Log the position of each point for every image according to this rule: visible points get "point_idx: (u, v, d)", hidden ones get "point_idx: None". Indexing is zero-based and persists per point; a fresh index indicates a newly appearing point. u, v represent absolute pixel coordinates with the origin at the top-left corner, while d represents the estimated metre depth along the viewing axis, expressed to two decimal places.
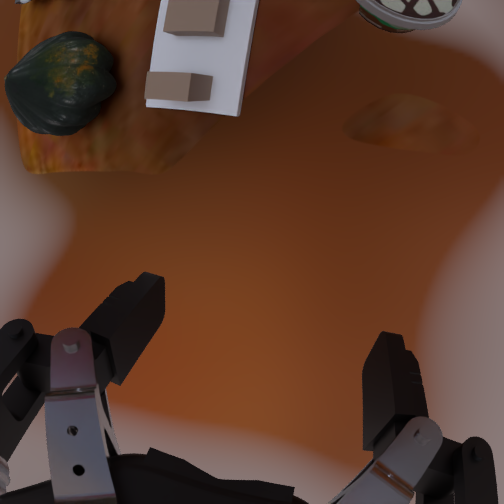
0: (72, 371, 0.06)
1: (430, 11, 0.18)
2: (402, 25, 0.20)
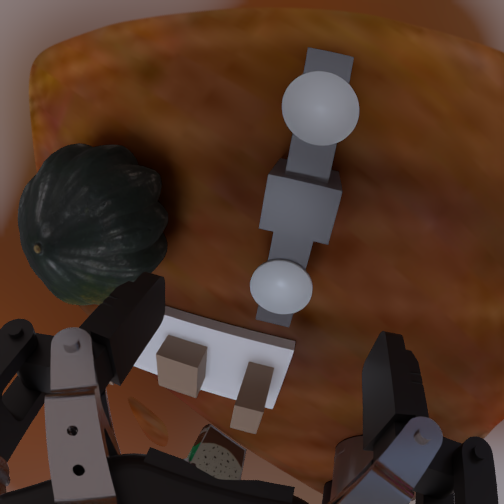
0: (72, 371, 0.06)
1: None
2: None
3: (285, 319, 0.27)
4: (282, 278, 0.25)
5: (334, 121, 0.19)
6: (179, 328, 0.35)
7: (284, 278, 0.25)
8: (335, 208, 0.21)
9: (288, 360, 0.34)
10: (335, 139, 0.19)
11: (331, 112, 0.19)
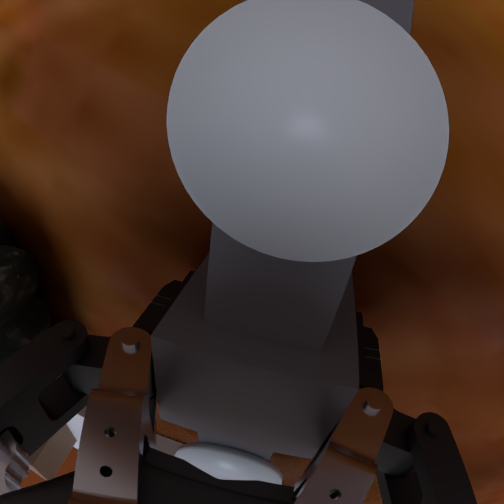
0: (137, 371, 0.07)
1: None
2: None
3: None
4: (226, 467, 0.11)
5: (357, 178, 0.05)
6: None
7: (229, 468, 0.11)
8: (334, 416, 0.07)
9: None
10: (356, 243, 0.06)
11: (347, 143, 0.05)
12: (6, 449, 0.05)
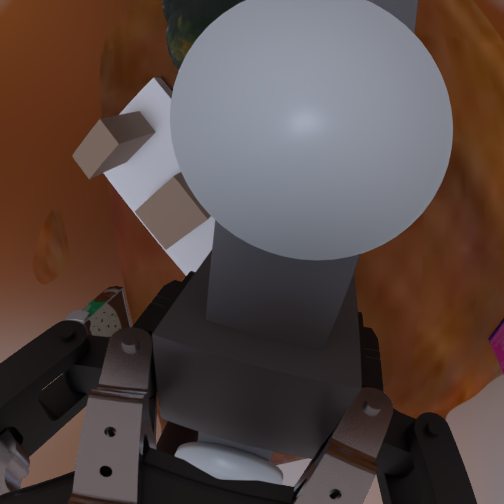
0: (137, 371, 0.07)
1: None
2: None
3: None
4: (227, 467, 0.11)
5: (362, 176, 0.05)
6: None
7: (230, 467, 0.11)
8: (336, 416, 0.07)
9: None
10: (360, 241, 0.06)
11: (352, 141, 0.05)
12: (6, 449, 0.05)
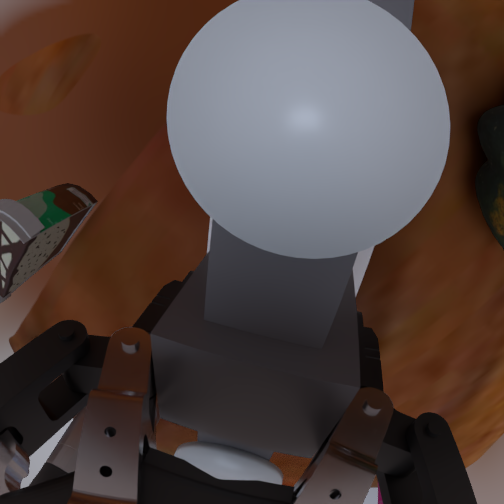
0: (137, 371, 0.07)
1: None
2: (4, 201, 0.19)
3: None
4: (226, 467, 0.11)
5: (358, 174, 0.05)
6: None
7: (229, 467, 0.11)
8: (335, 415, 0.07)
9: None
10: (358, 239, 0.06)
11: (348, 139, 0.05)
12: (6, 449, 0.05)
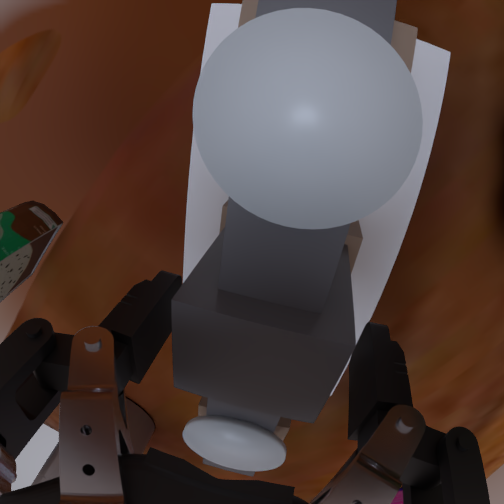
0: (96, 370, 0.07)
1: None
2: None
3: (246, 470, 0.15)
4: (233, 441, 0.12)
5: (348, 159, 0.06)
6: (376, 243, 0.16)
7: (236, 441, 0.12)
8: (335, 375, 0.08)
9: None
10: (349, 212, 0.07)
11: (340, 131, 0.06)
12: None
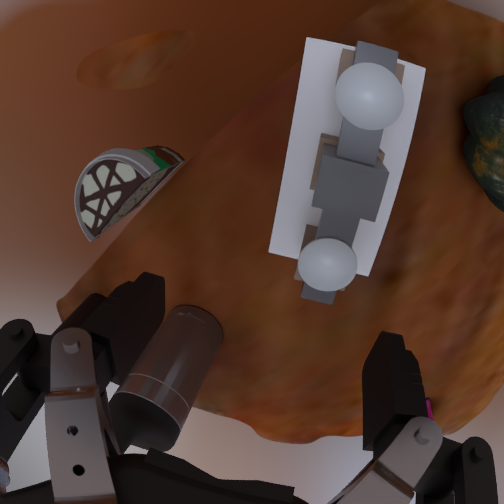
0: (72, 371, 0.06)
1: (97, 171, 0.29)
2: (119, 149, 0.28)
3: (329, 297, 0.28)
4: (329, 255, 0.26)
5: (382, 108, 0.19)
6: (390, 166, 0.29)
7: (331, 255, 0.26)
8: (383, 188, 0.21)
9: None
10: (383, 125, 0.20)
11: (379, 100, 0.19)
12: None
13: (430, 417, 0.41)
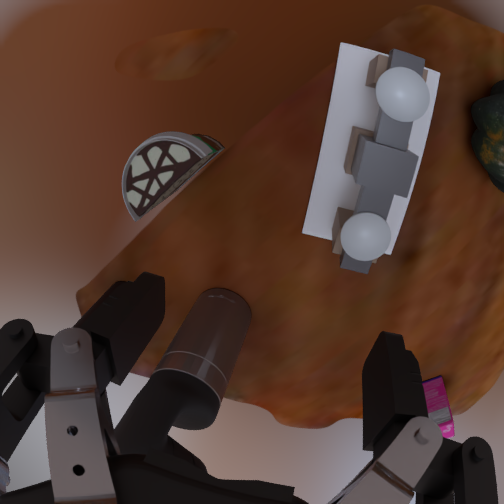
0: (72, 371, 0.06)
1: (148, 152, 0.31)
2: (172, 132, 0.31)
3: (365, 266, 0.31)
4: (368, 228, 0.29)
5: (413, 104, 0.23)
6: None
7: (369, 227, 0.29)
8: (413, 169, 0.25)
9: None
10: (413, 118, 0.23)
11: (411, 98, 0.22)
12: None
13: (444, 392, 0.44)
